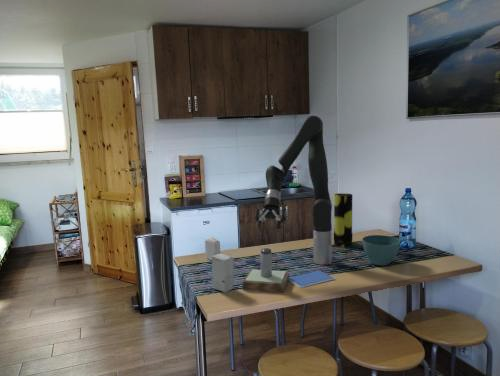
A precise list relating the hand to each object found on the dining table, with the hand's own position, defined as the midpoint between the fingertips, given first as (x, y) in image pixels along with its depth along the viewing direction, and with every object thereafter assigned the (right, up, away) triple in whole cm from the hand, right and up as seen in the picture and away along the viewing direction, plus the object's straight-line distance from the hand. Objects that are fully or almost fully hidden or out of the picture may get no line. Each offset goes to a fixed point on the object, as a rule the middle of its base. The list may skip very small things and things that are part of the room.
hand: (268, 229), depth 193 cm
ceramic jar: (-2, -20, -8) cm, 22 cm away
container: (+46, -14, +49) cm, 69 cm away
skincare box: (-21, -25, -11) cm, 35 cm away
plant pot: (+58, -19, +16) cm, 63 cm away
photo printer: (-29, -20, +28) cm, 45 cm away
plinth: (-2, -24, -8) cm, 25 cm away
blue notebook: (+19, -24, -4) cm, 31 cm away
